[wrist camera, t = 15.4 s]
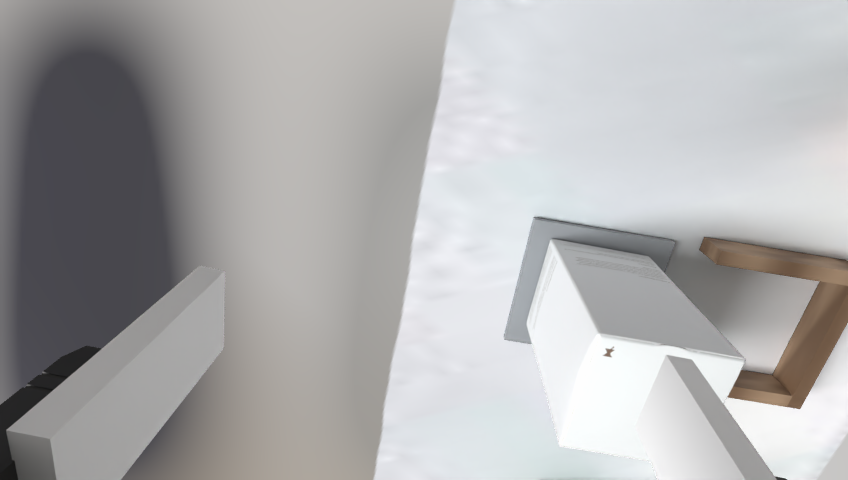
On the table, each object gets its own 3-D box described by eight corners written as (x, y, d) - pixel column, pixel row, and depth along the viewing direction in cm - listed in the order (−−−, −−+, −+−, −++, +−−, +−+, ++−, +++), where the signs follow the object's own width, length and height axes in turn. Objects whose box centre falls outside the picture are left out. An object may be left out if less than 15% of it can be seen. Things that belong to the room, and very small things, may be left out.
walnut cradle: (845, 260, 42) (873, 275, 39) (779, 387, 47) (800, 409, 44) (704, 236, 42) (722, 250, 39) (653, 366, 47) (665, 387, 44)
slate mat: (672, 240, 42) (675, 242, 42) (629, 356, 47) (631, 360, 46) (533, 217, 42) (534, 219, 42) (503, 336, 47) (504, 339, 46)
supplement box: (522, 325, 45) (553, 450, 32) (549, 235, 42) (596, 331, 28) (619, 343, 46) (692, 475, 32) (653, 255, 42) (752, 360, 28)
